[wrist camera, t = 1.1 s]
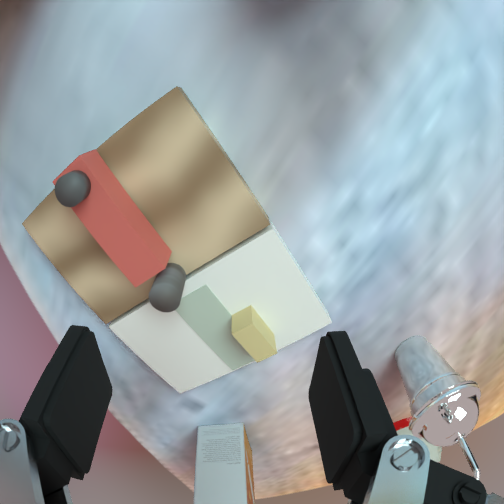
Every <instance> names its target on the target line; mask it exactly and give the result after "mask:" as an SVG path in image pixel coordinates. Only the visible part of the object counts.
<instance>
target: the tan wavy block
mask: <svg viewBox="0 0 504 504" xmlns="http://www.w3.org/2000/svg"><path fill="white" fill-rule="evenodd" d="M96 150H97V152H98V153H99V155H100V156H101V157H102V159H103V160H104V162H105V163H106V164H107V166H108V167H109V169H110V170H111V171H112V173H113V174H114V176H115V177H116V178H117V180H118V181H119V182H120V184H121V185H122V187H123V188H124V189H125V191H126V192H127V193H128V195H129V196H130V197H131V199H132V200H133V201H134V203H135V204H136V205H137V207H138V208H139V209H140V211H141V212H142V213H143V215H144V216H145V217H146V219H147V220H148V221H149V223H150V224H151V225H152V226H153V228H154V229H155V230H156V232H157V233H158V234H159V236H160V237H161V238H162V239H163V241H164V242H165V243H166V244H167V246H168V247H169V248H170V250H171V251H172V253H171V255H170V258H169V261H168V263H167V266H166V268H165V269H164V270H162V271H161V272H159V273H158V274H156V275H155V276H153V277H151V278H150V279H148V280H147V281H145V282H144V283H142V284H141V285H139V286H137V287H136V288H135V287H134V285H133V284H132V283H131V282H130V281H129V280H128V279H127V277H126V276H125V275H124V274H123V273H122V272H121V270H120V269H119V268H118V267H117V266H116V264H115V263H114V262H113V261H112V260H111V258H110V257H109V256H108V255H107V253H106V252H105V251H104V250H103V248H102V247H101V246H100V245H99V244H98V242H97V241H96V240H95V238H94V237H93V236H92V235H91V233H90V232H89V231H88V230H87V228H86V227H85V226H84V224H83V223H82V222H81V220H80V219H79V218H78V216H77V215H76V214H75V212H74V211H73V210H72V208H71V207H65V206H63V205H62V204H61V203H60V202H59V201H58V200H57V198H56V195H55V189H54V190H53V191H52V192H51V193H50V194H49V195H48V196H47V197H46V198H45V199H44V200H43V201H42V202H41V203H40V204H39V205H38V206H37V208H36V209H35V210H34V211H33V212H32V213H31V214H30V215H29V216H28V217H27V219H26V220H25V221H24V222H23V223H22V225H23V226H24V227H25V229H26V230H27V231H28V233H29V234H30V236H31V237H32V238H33V240H34V241H35V242H36V243H37V245H38V246H39V247H40V249H41V250H42V251H43V253H44V254H45V255H46V256H47V258H48V259H49V260H50V261H51V263H52V264H53V265H54V266H55V268H56V269H57V270H58V271H59V272H60V274H61V275H62V276H63V277H64V278H65V280H66V281H67V282H68V283H69V284H70V285H71V287H72V288H73V289H74V290H75V291H76V292H77V293H78V295H79V296H80V297H81V298H82V299H83V300H84V301H85V302H86V303H87V305H88V306H89V307H90V308H91V309H92V310H93V311H94V312H95V313H96V314H97V315H98V316H99V318H100V319H101V320H102V321H103V322H104V323H105V324H107V323H109V322H110V321H112V320H113V319H115V318H117V317H118V316H120V315H122V314H123V313H125V312H126V311H128V310H130V309H131V308H133V307H135V306H136V305H138V304H139V303H141V302H143V301H144V300H146V299H148V298H149V301H150V303H151V305H152V306H153V307H154V308H155V309H157V310H158V311H161V312H172V311H174V310H176V309H177V308H178V307H179V305H180V301H181V297H182V293H183V289H184V285H185V281H186V277H187V274H189V273H190V272H192V271H194V270H195V269H197V268H199V267H200V266H202V265H203V264H205V263H207V262H208V261H210V260H212V259H213V258H215V257H217V256H218V255H220V254H222V253H223V252H225V251H227V250H228V249H230V248H232V247H233V246H235V245H237V244H238V243H240V242H242V241H243V240H245V239H247V238H248V237H250V236H252V235H254V234H255V233H257V232H259V231H260V230H262V229H264V228H265V227H267V226H269V225H270V222H269V219H268V216H267V215H266V213H265V211H264V210H263V208H262V207H261V205H260V204H259V202H258V201H257V199H256V198H255V196H254V195H253V193H252V192H251V190H250V189H249V187H248V185H247V184H246V182H245V181H244V179H243V178H242V176H241V175H240V173H239V172H238V170H237V169H236V167H235V166H234V164H233V163H232V161H231V160H230V158H229V157H228V155H227V154H226V152H225V151H224V150H223V148H222V147H221V145H220V144H219V142H218V141H217V139H216V138H215V136H214V135H213V133H212V132H211V130H210V129H209V127H208V126H207V125H206V123H205V122H204V120H203V119H202V117H201V116H200V114H199V113H198V111H197V110H196V109H195V107H194V106H193V104H192V103H191V101H190V100H189V98H188V97H187V96H186V94H185V93H184V91H183V90H182V88H180V87H175V88H174V89H173V90H171V91H170V92H168V93H167V94H165V95H164V96H163V97H161V98H160V99H158V100H157V101H156V102H154V103H153V104H152V105H150V106H149V107H148V108H146V109H145V110H144V111H142V112H141V113H140V114H138V115H137V116H136V117H135V118H133V119H132V120H131V121H129V122H128V123H127V124H126V125H124V126H123V127H122V128H121V129H120V130H118V131H117V132H116V133H115V134H114V135H112V136H111V137H110V138H109V139H108V140H106V141H105V142H104V143H103V144H102V145H101V146H99V147H98V148H97V149H96Z"/></svg>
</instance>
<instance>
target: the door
mask: <svg viewBox="0 0 504 504" xmlns="http://www.w3.org/2000/svg"><path fill="white" fill-rule="evenodd" d="M269 222H270V225H269V226H267V227H265V228H264V229H262V230H260V231H259V232H257V233H255V234H254V235H252V236H250V237H248V238H247V239H245V240H243V241H242V242H240V243H238V244H237V245H235V246H233V247H232V248H230V249H228V250H227V251H225V252H223V253H222V254H220V255H218V256H217V257H215V258H213V259H212V260H210V261H208V262H207V263H205V264H203V265H202V266H200V267H199V268H197V269H195V270H194V271H192V272H190V273H189V274H187V277H186V281H185V285H184V289H183V293H182V297H181V301H180V305H179V307H178V308H177V309H176V310H174V311H172V312H161V311H158V310H157V309H155V308H154V307H153V306H152V305H151V303H150V301H149V298H148V299H146V300H144V301H143V302H141V303H139V304H138V305H136V306H135V307H133V308H131V309H130V310H128V311H126V312H125V313H123V314H122V315H120V316H118V317H117V318H115V319H113V320H112V321H111V323H110V325H109V328H110V329H111V330H112V331H113V332H114V333H115V334H116V335H117V336H118V337H119V338H120V339H121V340H122V341H123V342H124V343H125V344H126V345H127V346H128V347H129V348H130V349H131V350H132V351H133V352H134V353H135V354H136V355H137V356H139V357H140V358H141V359H142V360H143V361H144V362H145V363H146V364H147V365H148V366H149V367H150V368H151V369H153V370H154V371H155V372H156V373H157V374H158V375H159V376H160V377H162V378H163V379H164V380H165V381H166V382H167V383H168V384H169V385H171V386H172V387H173V388H174V389H175V390H176V391H178V392H179V393H180V394H181V393H183V392H186V391H188V390H190V389H193V388H195V387H198V386H200V385H203V384H205V383H207V382H210V381H212V380H214V379H217V378H219V377H221V376H224V375H226V374H228V373H230V372H233V371H235V370H237V369H239V368H242V367H244V366H246V365H248V364H250V363H252V362H255V361H256V362H257V363H258V362H260V361H262V360H264V359H266V358H268V357H270V356H272V355H274V354H276V353H277V351H278V350H280V349H282V348H284V347H286V346H288V345H290V344H292V343H294V342H296V341H298V340H300V339H302V338H304V337H306V336H307V335H309V334H311V333H313V332H315V331H317V330H319V329H321V328H323V327H325V326H326V325H328V324H330V323H332V321H331V319H330V316H329V314H328V311H327V310H326V308H325V306H324V305H323V303H322V302H321V300H320V298H319V297H318V295H317V293H316V292H315V290H314V289H313V287H312V285H311V284H310V282H309V281H308V279H307V277H306V276H305V274H304V273H303V271H302V269H301V268H300V266H299V265H298V263H297V261H296V260H295V258H294V257H293V255H292V254H291V252H290V250H289V249H288V247H287V246H286V244H285V243H284V241H283V239H282V238H281V236H280V235H279V233H278V232H277V230H276V228H275V227H274V225H273V224H272V222H271V221H269Z"/></svg>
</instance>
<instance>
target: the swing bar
mask: <svg viewBox="0 0 504 504" xmlns="http://www.w3.org/2000/svg"><path fill="white" fill-rule="evenodd" d="M53 183H54V185H55V195H56V198H57V200H58V201H59V202H60V203H61V204H62V205H63V206H65V207H71V208H72V210H73V211H74V212H75V214H76V215H77V216H78V218H79V219H80V220H81V222H82V223H83V224H84V226H85V227H86V228H87V230H88V231H89V232H90V233H91V235H92V236H93V237H94V238H95V240H96V241H97V242H98V244H99V245H100V246H101V247H102V248H103V250H104V251H105V252H106V253H107V255H108V256H109V257H110V258H111V260H112V261H113V262H114V263H115V264H116V266H117V267H118V268H119V269H120V270H121V272H122V273H123V274H124V275H125V276H126V277H127V279H128V280H129V281H130V282H131V283H132V284H133V285H134V287H135V288H136V287H137V286H139V285H141V284H142V283H144V282H145V281H147V280H148V279H150V278H151V277H153V276H155V275H156V274H158V273H159V272H161V271H162V270H164V269H165V268H166V266H167V263H168V261H169V258H170V255H171V253H172V251H171V250H170V248H169V247H168V246H167V244H166V243H165V242H164V241H163V239H162V238H161V237H160V236H159V234H158V233H157V232H156V230H155V229H154V228H153V226H152V225H151V224H150V223H149V221H148V220H147V219H146V217H145V216H144V215H143V213H142V212H141V211H140V209H139V208H138V207H137V205H136V204H135V203H134V201H133V200H132V199H131V197H130V196H129V195H128V193H127V192H126V191H125V189H124V188H123V187H122V185H121V184H120V182H119V181H118V180H117V178H116V177H115V176H114V174H113V173H112V171H111V170H110V169H109V167H108V166H107V164H106V163H105V162H104V160H103V159H102V157H101V156H100V155H99V153H98V152H97V150H96V149H95V150H92V151H89V152H87V153H84V154H82V155H79V156H78V157H77V158H76V159H75V160H74V161H73V162H72V163H71V164H70V165H69V166H68V167H67V168H66V169H65V170H64V171H63V172H62V173H61V174H60V175H59V176H58V177H57V178H56V179H55V180H54V181H53Z"/></svg>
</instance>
